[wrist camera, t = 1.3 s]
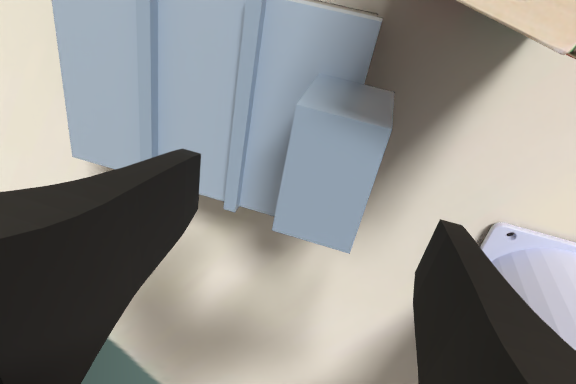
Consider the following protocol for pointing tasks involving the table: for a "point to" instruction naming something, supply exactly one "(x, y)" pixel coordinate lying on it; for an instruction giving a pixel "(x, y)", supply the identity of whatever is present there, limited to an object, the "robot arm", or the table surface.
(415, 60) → the table surface
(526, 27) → the stack of blocks
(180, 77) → the lid
